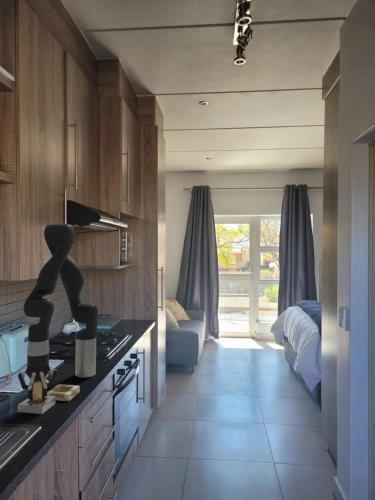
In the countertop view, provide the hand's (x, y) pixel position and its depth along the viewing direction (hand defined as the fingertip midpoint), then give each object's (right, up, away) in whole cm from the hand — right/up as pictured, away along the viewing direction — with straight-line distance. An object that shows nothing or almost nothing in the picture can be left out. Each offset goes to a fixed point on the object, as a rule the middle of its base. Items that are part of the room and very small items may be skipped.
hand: (37, 398), depth 134 cm
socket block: (0, -3, 0) cm, 3 cm away
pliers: (-10, -4, +27) cm, 29 cm away
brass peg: (0, -3, 0) cm, 3 cm away
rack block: (+6, -3, +11) cm, 13 cm away
